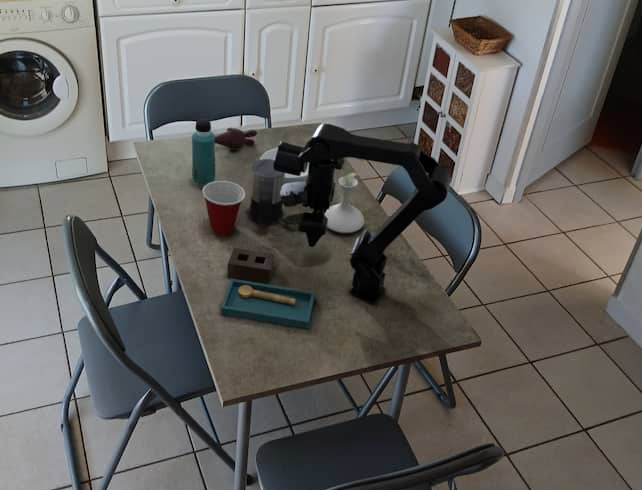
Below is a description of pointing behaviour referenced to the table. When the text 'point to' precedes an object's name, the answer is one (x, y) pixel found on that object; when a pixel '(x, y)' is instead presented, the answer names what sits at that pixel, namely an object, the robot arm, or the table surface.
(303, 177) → the cereal bowl
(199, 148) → the beverage bottle
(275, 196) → the milk frother
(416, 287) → the table surface
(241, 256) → the slotted brown holder
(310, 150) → the robot arm
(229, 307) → the tray
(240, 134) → the brown stuffed toy
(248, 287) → the tan round-headed peg
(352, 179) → the flower in vase
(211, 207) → the plastic cup
